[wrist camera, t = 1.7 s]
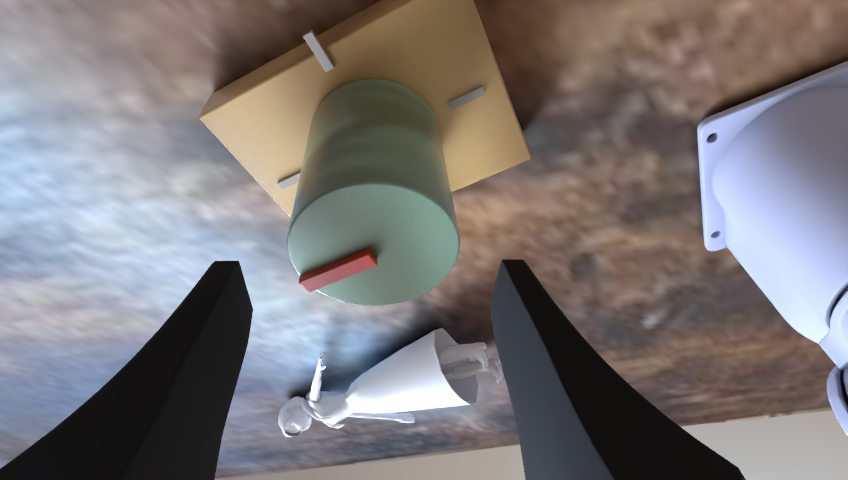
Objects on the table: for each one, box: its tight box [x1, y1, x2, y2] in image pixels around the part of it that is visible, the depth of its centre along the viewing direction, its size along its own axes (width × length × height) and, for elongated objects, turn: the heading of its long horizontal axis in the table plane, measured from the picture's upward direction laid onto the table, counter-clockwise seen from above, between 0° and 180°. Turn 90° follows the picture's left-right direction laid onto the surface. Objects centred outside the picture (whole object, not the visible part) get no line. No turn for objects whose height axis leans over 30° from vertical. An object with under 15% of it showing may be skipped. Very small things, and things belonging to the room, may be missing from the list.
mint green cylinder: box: [287, 79, 460, 306], centre depth 16 cm, size 5×5×7 cm
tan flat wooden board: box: [199, 0, 531, 218], centre depth 19 cm, size 11×9×2 cm
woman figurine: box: [278, 328, 503, 437], centre depth 33 cm, size 12×4×18 cm
